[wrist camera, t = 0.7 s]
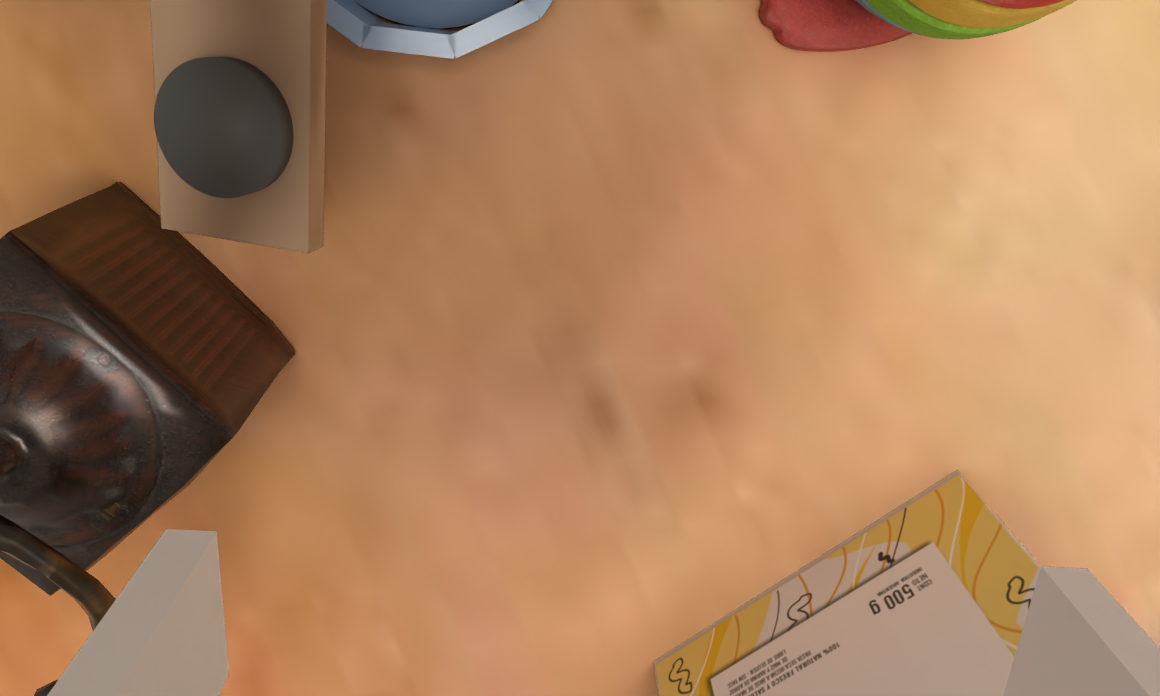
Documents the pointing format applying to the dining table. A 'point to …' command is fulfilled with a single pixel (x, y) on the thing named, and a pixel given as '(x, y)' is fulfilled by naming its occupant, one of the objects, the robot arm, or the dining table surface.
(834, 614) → the pasta box
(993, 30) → the stacking bear
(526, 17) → the bowl
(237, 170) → the lever
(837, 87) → the dining table surface
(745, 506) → the dining table surface
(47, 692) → the brown manual coffee grinder
